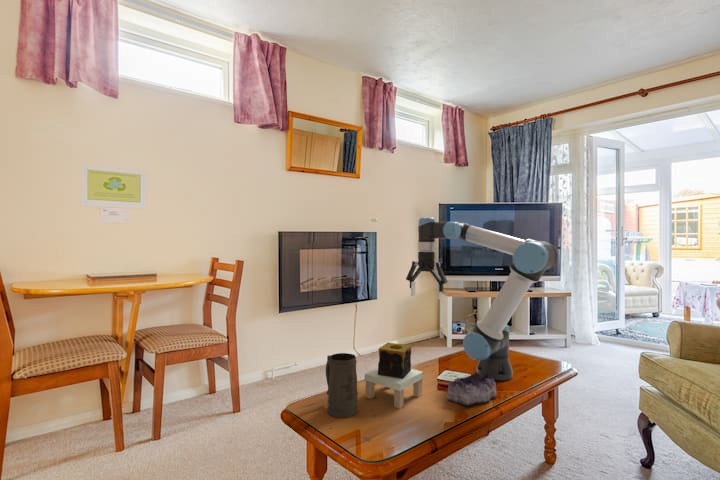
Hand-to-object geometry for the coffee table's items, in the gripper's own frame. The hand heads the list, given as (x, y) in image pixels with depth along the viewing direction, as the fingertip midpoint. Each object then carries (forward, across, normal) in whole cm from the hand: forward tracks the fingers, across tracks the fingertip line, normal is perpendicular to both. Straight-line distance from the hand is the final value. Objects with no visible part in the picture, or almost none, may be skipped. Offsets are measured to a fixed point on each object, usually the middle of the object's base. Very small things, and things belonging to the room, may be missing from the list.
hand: (425, 297), depth 183 cm
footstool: (+33, -7, +36) cm, 49 cm away
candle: (+24, -7, +36) cm, 44 cm away
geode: (+33, -31, +19) cm, 49 cm away
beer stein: (+33, +2, +58) cm, 67 cm away
